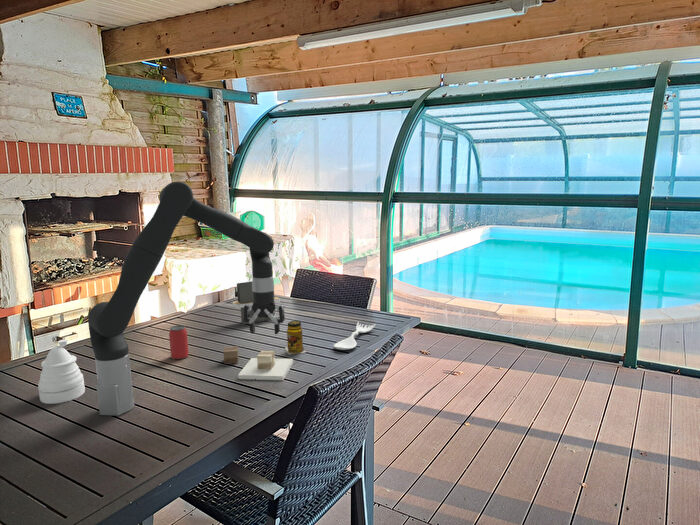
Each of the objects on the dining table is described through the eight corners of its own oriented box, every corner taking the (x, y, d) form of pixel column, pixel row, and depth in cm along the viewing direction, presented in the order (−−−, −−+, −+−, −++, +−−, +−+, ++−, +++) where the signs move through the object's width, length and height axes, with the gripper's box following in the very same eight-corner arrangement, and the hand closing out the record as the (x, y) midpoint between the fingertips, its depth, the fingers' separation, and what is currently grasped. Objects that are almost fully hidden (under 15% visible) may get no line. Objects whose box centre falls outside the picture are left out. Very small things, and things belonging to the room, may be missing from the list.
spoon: (376, 330, 222) (376, 322, 222) (350, 354, 193) (350, 346, 192) (357, 328, 226) (357, 321, 225) (329, 352, 196) (329, 343, 196)
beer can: (183, 360, 189) (180, 330, 187) (167, 359, 191) (165, 329, 188) (191, 354, 196) (189, 325, 194) (176, 353, 197) (174, 324, 195)
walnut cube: (237, 363, 186) (237, 350, 185) (224, 364, 185) (223, 351, 184) (238, 358, 191) (238, 346, 190) (225, 359, 190) (224, 347, 189)
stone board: (283, 380, 170) (282, 376, 169) (238, 379, 171) (237, 374, 171) (293, 362, 185) (293, 358, 185) (251, 361, 187) (251, 357, 187)
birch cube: (271, 369, 175) (270, 356, 174) (257, 369, 176) (257, 355, 175) (275, 364, 180) (274, 351, 179) (261, 363, 181) (261, 350, 180)
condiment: (288, 355, 193) (287, 325, 191) (284, 347, 201) (283, 319, 199) (306, 352, 195) (305, 323, 193) (302, 345, 203) (301, 317, 201)
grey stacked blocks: (282, 309, 259) (281, 272, 256) (304, 321, 238) (303, 281, 235) (210, 321, 239) (207, 282, 236) (227, 335, 218) (224, 292, 215)
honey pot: (75, 383, 170) (69, 333, 167) (91, 393, 162) (85, 341, 159) (33, 396, 161) (26, 343, 157) (49, 407, 153) (41, 352, 149)
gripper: (240, 291, 170) (242, 336, 173) (280, 292, 168) (281, 337, 171) (246, 286, 177) (248, 329, 180) (285, 287, 176) (286, 330, 179)
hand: (264, 333), depth 176 cm, fingers open, 8 cm apart
